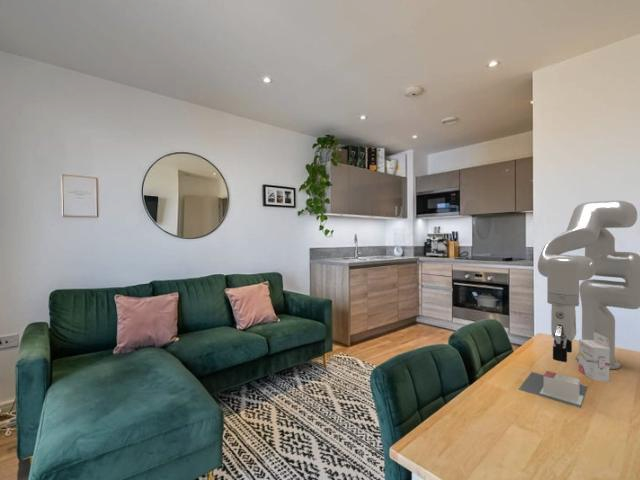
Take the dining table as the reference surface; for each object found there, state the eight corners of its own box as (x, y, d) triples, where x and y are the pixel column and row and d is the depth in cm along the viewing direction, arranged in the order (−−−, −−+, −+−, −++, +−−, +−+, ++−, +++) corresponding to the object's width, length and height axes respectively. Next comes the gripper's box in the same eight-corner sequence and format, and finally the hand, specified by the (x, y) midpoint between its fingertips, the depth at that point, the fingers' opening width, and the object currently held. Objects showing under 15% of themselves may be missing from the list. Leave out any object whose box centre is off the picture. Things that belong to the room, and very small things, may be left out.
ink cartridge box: (577, 371, 113) (577, 330, 113) (593, 373, 112) (594, 331, 112) (592, 382, 105) (593, 337, 104) (610, 384, 104) (611, 338, 103)
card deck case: (579, 396, 94) (579, 378, 94) (577, 402, 90) (577, 384, 90) (546, 387, 99) (546, 370, 99) (543, 392, 96) (543, 375, 96)
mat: (531, 373, 111) (531, 371, 111) (587, 388, 100) (587, 385, 100) (518, 391, 98) (518, 388, 98) (580, 410, 88) (580, 407, 88)
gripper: (575, 306, 86) (574, 368, 86) (582, 296, 98) (582, 351, 99) (541, 302, 91) (541, 361, 92) (552, 293, 103) (552, 345, 104)
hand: (562, 355), depth 95 cm, fingers open, 9 cm apart
